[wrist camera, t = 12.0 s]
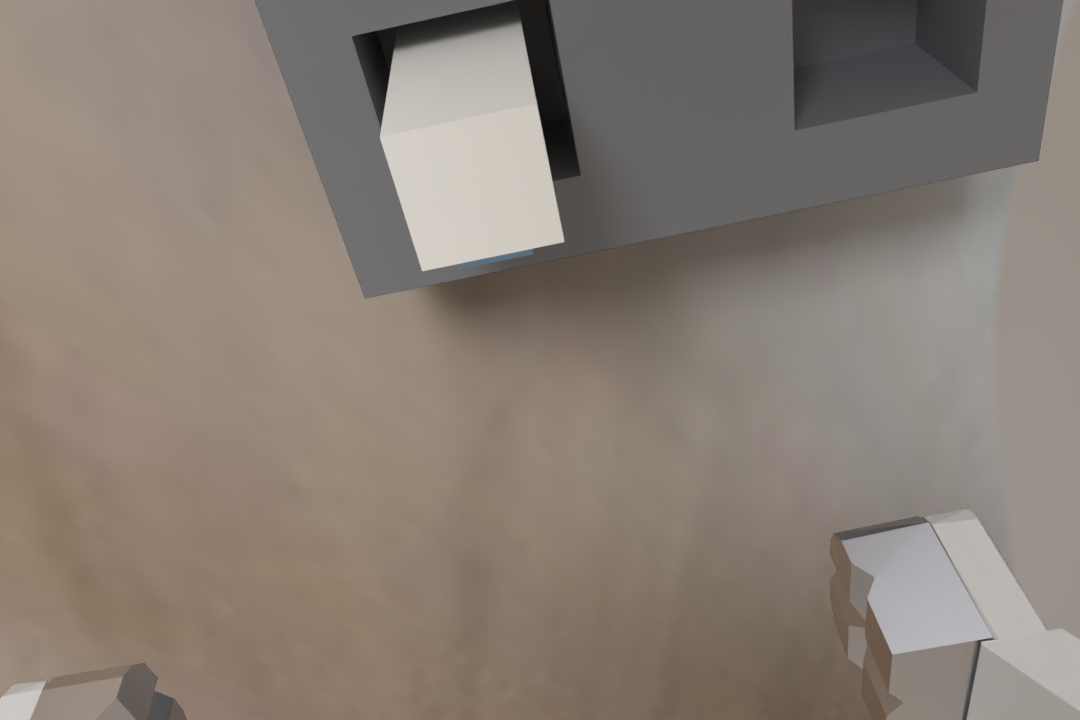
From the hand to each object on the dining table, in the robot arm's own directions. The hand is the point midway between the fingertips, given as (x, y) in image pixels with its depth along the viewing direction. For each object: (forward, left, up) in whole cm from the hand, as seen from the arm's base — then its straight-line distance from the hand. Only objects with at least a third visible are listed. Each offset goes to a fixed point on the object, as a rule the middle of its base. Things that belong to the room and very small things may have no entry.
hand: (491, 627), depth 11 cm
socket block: (0, +6, -22) cm, 22 cm away
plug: (0, 0, -21) cm, 21 cm away
